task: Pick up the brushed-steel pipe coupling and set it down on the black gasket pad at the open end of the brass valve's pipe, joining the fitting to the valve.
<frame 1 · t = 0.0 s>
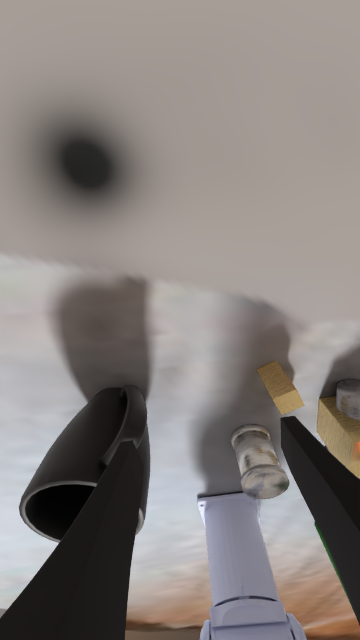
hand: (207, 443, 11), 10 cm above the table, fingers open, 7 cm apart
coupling: (249, 437, 25), on the table
brass valve: (341, 412, 24), on the table
mug: (126, 394, 23), on the table
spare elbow: (273, 378, 22), on the table
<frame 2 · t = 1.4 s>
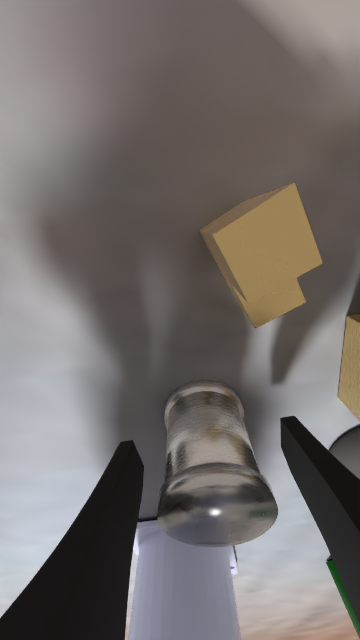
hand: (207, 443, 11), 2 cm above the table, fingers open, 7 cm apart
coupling: (203, 410, 13), on the table
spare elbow: (242, 260, 9), on the table
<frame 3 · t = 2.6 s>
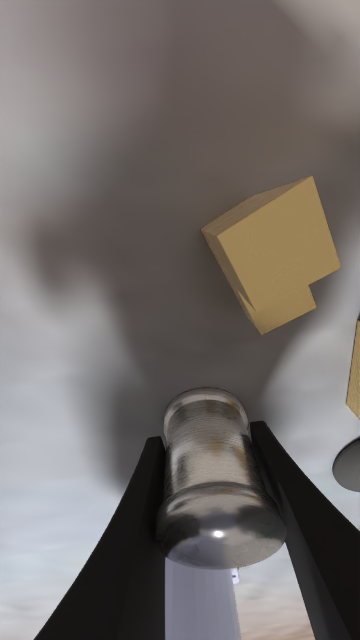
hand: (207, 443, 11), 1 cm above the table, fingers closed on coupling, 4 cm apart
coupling: (204, 419, 12), on the table, touching gripper
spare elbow: (247, 261, 9), on the table
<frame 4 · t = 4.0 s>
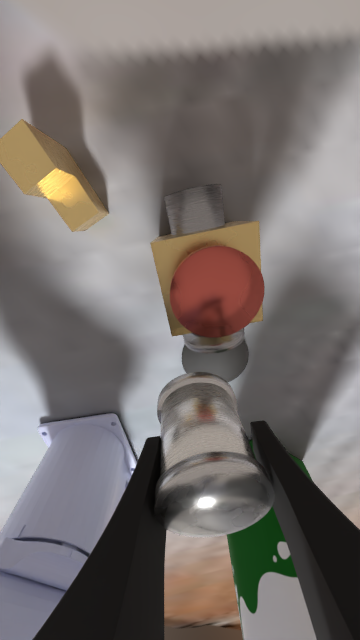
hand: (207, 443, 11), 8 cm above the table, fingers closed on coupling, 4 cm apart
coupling: (196, 403, 13), point 6 cm above the table, touching gripper
gasket pad: (214, 357, 19), on the table
brass valve: (201, 266, 16), on the table
milk carton: (257, 463, 25), on the table
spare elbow: (76, 192, 14), on the table
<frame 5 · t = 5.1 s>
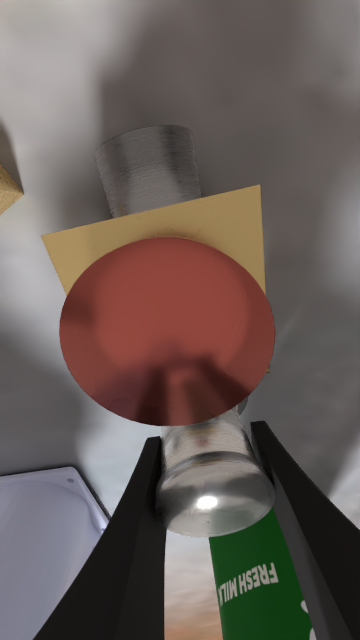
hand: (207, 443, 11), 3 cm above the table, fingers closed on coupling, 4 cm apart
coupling: (196, 402, 13), point 1 cm above the table, touching gripper
brass valve: (174, 273, 10), on the table
milk carton: (262, 517, 20), on the table
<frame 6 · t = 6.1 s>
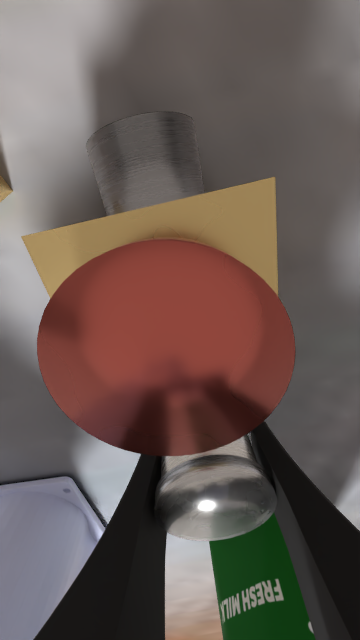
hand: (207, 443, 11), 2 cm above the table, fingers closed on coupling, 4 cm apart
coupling: (198, 404, 12), resting on gasket pad, touching gripper
brass valve: (174, 276, 10), on the table
milk carton: (265, 527, 19), on the table
when the fingers open (2 cm above the table, at t = 6.1 s): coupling stays where it is, resting on gasket pad.
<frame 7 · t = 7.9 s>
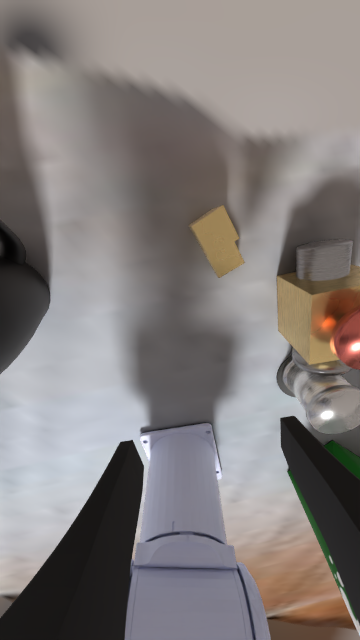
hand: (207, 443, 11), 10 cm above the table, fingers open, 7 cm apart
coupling: (305, 371, 21), resting on gasket pad
gasket pad: (306, 373, 21), on the table
brass valve: (308, 298, 18), on the table
mug: (23, 270, 17), on the table
milk carton: (326, 465, 27), on the table
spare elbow: (213, 242, 16), on the table
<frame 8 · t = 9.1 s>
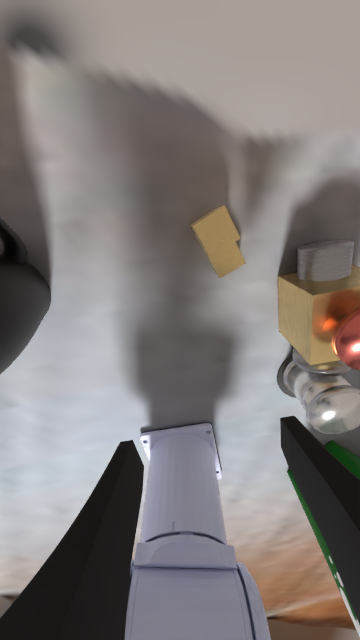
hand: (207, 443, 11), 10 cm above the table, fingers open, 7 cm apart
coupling: (305, 371, 21), resting on gasket pad
gasket pad: (306, 374, 21), on the table
brass valve: (309, 299, 18), on the table
mug: (23, 270, 17), on the table
milk carton: (326, 465, 27), on the table
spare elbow: (214, 242, 16), on the table
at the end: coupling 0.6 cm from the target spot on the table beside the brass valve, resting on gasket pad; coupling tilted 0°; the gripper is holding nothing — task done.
